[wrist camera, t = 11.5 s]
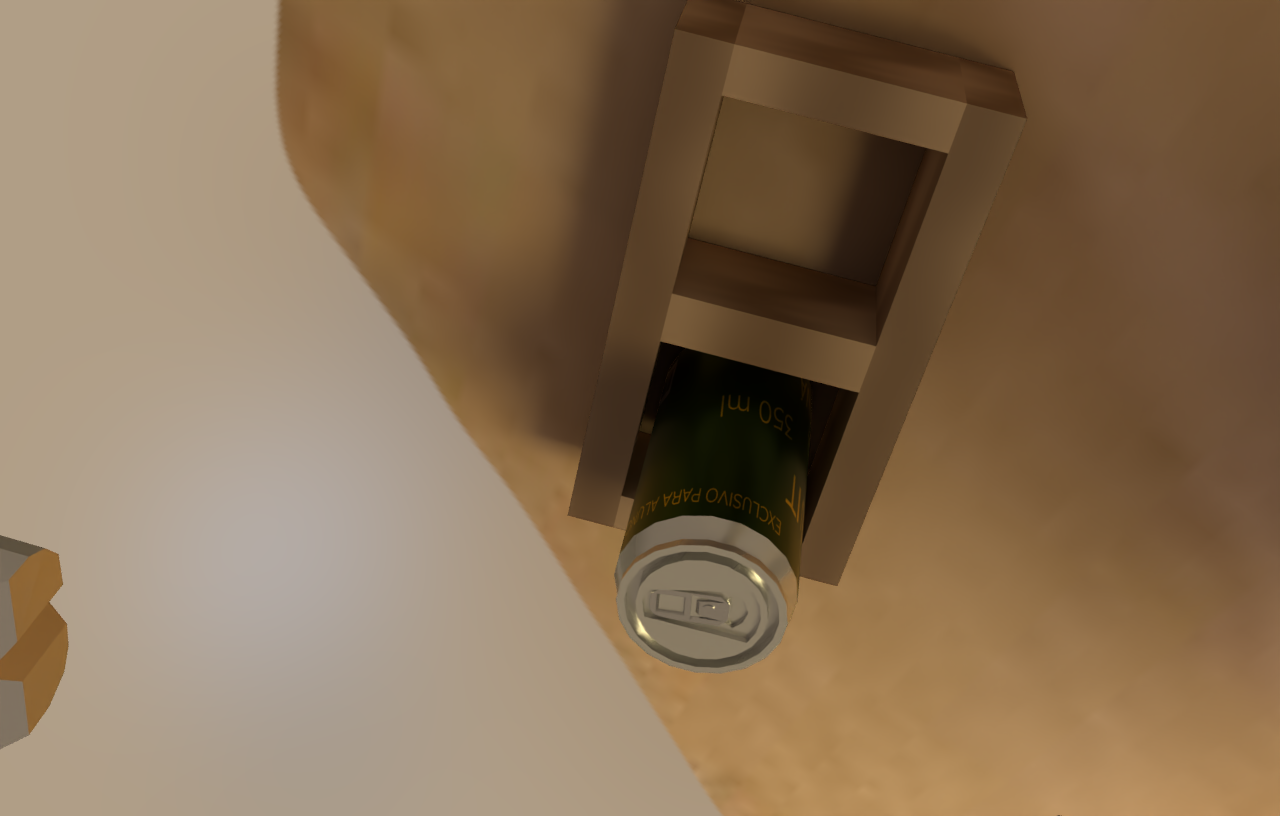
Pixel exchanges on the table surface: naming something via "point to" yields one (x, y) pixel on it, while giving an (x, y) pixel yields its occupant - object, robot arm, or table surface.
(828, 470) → the shelf
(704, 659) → the beer can
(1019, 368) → the table surface
